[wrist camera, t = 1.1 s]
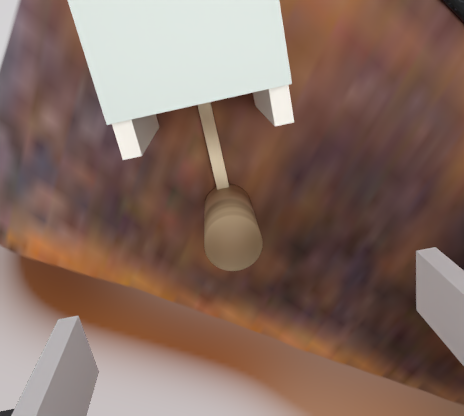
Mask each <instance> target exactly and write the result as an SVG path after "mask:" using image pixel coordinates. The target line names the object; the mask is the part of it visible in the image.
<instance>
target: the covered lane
mask: <svg viewBox="0 0 464 416" xmlns="http://www.w3.org/2000/svg"><path fill="white" fill-rule="evenodd" d="M68 3H69V6H70V9H71V12H72V16H73V19H74V22H75V25H76V28H77V32H78V35H79V38H80V41H81V44H82V48H83V51H84V54H85V57H86V60H87V63H88V67H89V70H90V73H91V76H92V79H93V83H94V86H95V89H96V92H97V95H98V98H99V102H100V105H101V108H102V111H103V114H104V118H105V121H106V124H107V125H109V124H112V126H113V129H114V133H115V136H116V139H117V142H118V145H119V149H120V152H121V155H122V158H123V160H126V159H130V158H135V157H139V156H142V155H143V153H144V152H145V150H146V148H147V147H148V145H149V144H150V142H151V140H152V139H153V137H154V135H155V134H156V132H157V130H158V129H159V124H158V120H157V116H156V114H158V113H163V112H167V111H172V110H176V109H181V108H185V107H190V106H194V105H199V104H203V103H208V102H212V101H217V100H221V99H226V98H230V97H235V96H239V95H244V94H248V93H253V97H254V102H255V106H256V107H257V108H258V109H259V110H260V112H261V113H262V114H263V115H264V116H265V117H266V118H267V119H268V120H269V121H270V122H271V123H272V124H273V125H274V126H280V125H284V124H289V123H293V122H294V118H293V111H292V105H291V98H290V92H289V86H288V85H289V84H292V81H291V74H290V68H289V61H288V55H287V48H286V42H285V35H284V28H283V22H282V15H281V9H280V2H279V0H68Z"/></svg>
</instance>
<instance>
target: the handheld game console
mask: <svg viewBox="0 0 464 416" xmlns="http://www.w3.org/2000/svg"><path fill="white" fill-rule="evenodd" d="M443 1H444V2H445V3H446V5H447V6H448V7H449V8H450V9H451V10H452V11H453V12H454V13H455V14H456V15H457V16H458V17H459V18H460V19H461V20H462V21H463V22H464V0H443Z"/></svg>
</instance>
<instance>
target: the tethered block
mask: <svg viewBox="0 0 464 416" xmlns="http://www.w3.org/2000/svg"><path fill="white" fill-rule="evenodd" d="M198 109H199V114H200V118H201V122H202V126H203V131H204V135H205V139H206V144H207V148H208V152H209V156H210V161H211V165H212V169H213V173H214V178H215V182H216V186H217V187H216V188H214V189H213V190H212V191H211V192H210V193H209V194H208V195H207V197H206V200H205V204H204V248H205V253H206V255H207V257H208V259H209V260H210V261H211V263H213V264H214V265H215V266H217V267H218V268H220V269H223V270H227V271H238V270H242V269H245V268H247V267H249V266H251V265H252V264H253V263H254V262H255V261H256V260H257V259H258V257H259V256H260V254H261V251H262V246H263V242H262V237H261V233H260V230H259V227H258V224H257V220H256V217H255V214H254V211H253V208H252V205H251V201H250V198H249V196H248V194H247V193H246V192H245V191H244V190H243V189H242V188H240V187H238V186H236V185H232V184H229V183H228V179H227V174H226V170H225V165H224V161H223V156H222V152H221V147H220V143H219V138H218V134H217V129H216V125H215V120H214V116H213V111H212V107H211V102H208V103H203V104H199V105H198Z"/></svg>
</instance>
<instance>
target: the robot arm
mask: <svg viewBox="0 0 464 416" xmlns="http://www.w3.org/2000/svg"><path fill="white" fill-rule="evenodd" d="M416 310H417V311H418V313H419V314H420V315H421V316H422V317H423V319H424V320H425V321H426V322H427V323H428V324H429V326H430V327H431V328H432V329H433V330H434V332H435V333H436V334H437V335H438V336H439V337H440V339H441V340H442V341H443V342H444V343H445V345H446V346H447V347H448V348H449V349H450V350H451V352H452V353H453V354H454V355H455V356H456V358H457V359H458V360H459V361H460V362H461V364H462V365H463V366H464V270H462V269H461V268H460V267H459V266H458V265H456V264H455V263H454V262H453V261H452V260H450V259H449V258H448V257H447V256H446V255H444V254H443V253H442V252H441V251H440V250H438V249H437V248H436V247H433V248H428V249H423V250H417V251H416ZM98 373H99V371H98V368H97V365H96V362H95V360H94V357H93V354H92V352H91V349H90V346H89V344H88V341H87V338H86V335H85V332H84V330H83V327H82V324H81V321H80V319H79V316H74V317H68V318H63V319H58V321H57V323H56V325H55V327H54V329H53V331H52V333H51V335H50V338H49V339H48V342H47V344H46V346H45V348H44V350H43V352H42V354H41V356H40V358H39V360H38V362H37V364H36V366H35V368H34V370H33V372H32V374H31V376H30V379H29V380H28V382H27V385H26V387H25V389H24V391H23V393H22V395H21V397H20V399H19V401H18V403H17V405H16V407H15V409H11V410H6V411H1V412H0V416H86V415H87V411H88V408H89V404H90V401H91V397H92V394H93V390H94V387H95V383H96V380H97V376H98Z"/></svg>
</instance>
